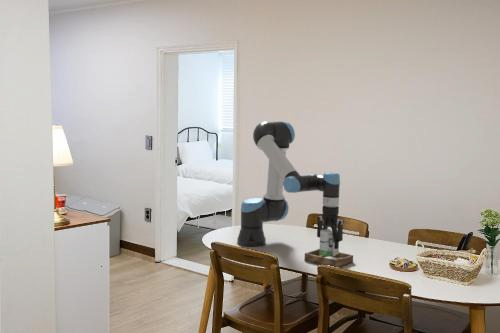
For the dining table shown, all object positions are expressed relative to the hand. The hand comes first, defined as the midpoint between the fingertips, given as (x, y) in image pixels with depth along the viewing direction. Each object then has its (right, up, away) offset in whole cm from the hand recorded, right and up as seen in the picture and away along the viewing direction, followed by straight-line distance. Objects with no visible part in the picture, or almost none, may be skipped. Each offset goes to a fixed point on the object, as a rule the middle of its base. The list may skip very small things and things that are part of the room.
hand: (329, 253), depth 250 cm
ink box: (0, -1, 0) cm, 1 cm away
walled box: (0, -4, +1) cm, 4 cm away
